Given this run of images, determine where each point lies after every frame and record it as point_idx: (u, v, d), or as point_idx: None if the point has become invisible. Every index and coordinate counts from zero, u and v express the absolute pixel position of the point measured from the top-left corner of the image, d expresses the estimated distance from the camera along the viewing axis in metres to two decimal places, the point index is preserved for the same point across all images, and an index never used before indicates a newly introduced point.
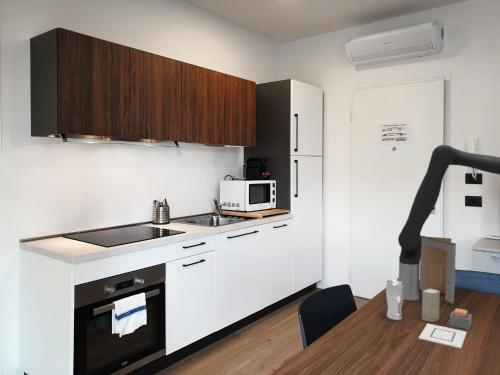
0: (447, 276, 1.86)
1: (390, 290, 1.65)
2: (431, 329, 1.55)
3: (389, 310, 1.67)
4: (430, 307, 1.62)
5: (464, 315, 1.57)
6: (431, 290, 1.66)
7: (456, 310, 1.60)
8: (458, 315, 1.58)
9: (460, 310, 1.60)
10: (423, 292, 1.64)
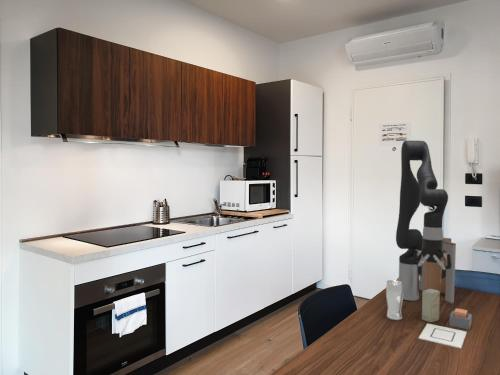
0: (447, 276, 1.86)
1: (390, 290, 1.65)
2: (431, 329, 1.55)
3: (389, 310, 1.67)
4: (430, 307, 1.62)
5: (464, 315, 1.57)
6: (431, 290, 1.66)
7: (456, 310, 1.60)
8: (458, 315, 1.58)
9: (460, 310, 1.60)
10: (423, 292, 1.64)
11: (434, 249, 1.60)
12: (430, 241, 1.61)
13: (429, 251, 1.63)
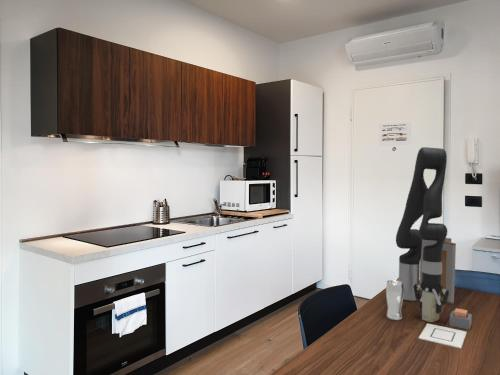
0: (447, 276, 1.86)
1: (390, 290, 1.65)
2: (431, 329, 1.55)
3: (389, 310, 1.67)
4: (430, 307, 1.62)
5: (464, 315, 1.57)
6: None
7: (456, 310, 1.60)
8: (458, 315, 1.58)
9: (460, 310, 1.60)
10: (423, 292, 1.64)
11: (433, 283, 1.61)
12: (429, 275, 1.61)
13: (428, 285, 1.64)
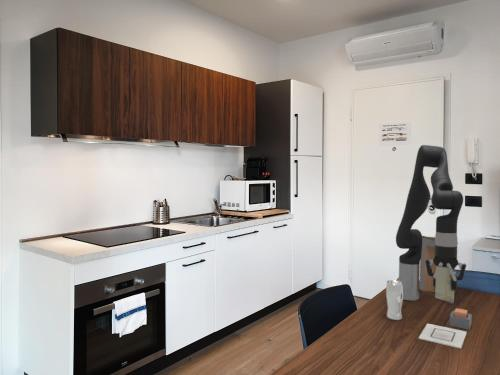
0: None
1: (390, 290, 1.65)
2: (431, 329, 1.55)
3: (389, 310, 1.67)
4: (445, 283, 1.46)
5: (464, 315, 1.57)
6: None
7: (456, 310, 1.60)
8: (458, 315, 1.58)
9: (460, 310, 1.60)
10: (437, 267, 1.48)
11: (448, 257, 1.45)
12: (443, 248, 1.45)
13: (442, 259, 1.48)
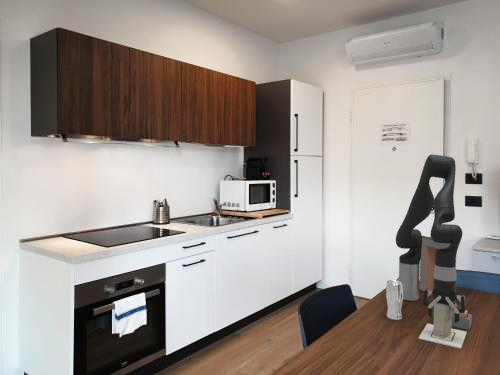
0: None
1: (390, 290, 1.65)
2: (431, 329, 1.55)
3: (389, 310, 1.67)
4: (443, 321, 1.47)
5: (464, 315, 1.57)
6: None
7: None
8: None
9: None
10: (435, 304, 1.49)
11: (447, 291, 1.45)
12: (442, 282, 1.46)
13: (441, 292, 1.49)
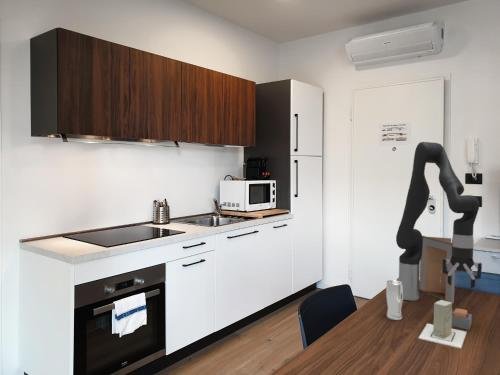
0: (447, 276, 1.86)
1: (390, 290, 1.65)
2: (431, 329, 1.55)
3: (389, 310, 1.67)
4: (443, 321, 1.47)
5: (464, 315, 1.57)
6: (443, 302, 1.50)
7: (456, 310, 1.60)
8: (458, 315, 1.58)
9: (460, 310, 1.60)
10: (435, 304, 1.49)
11: (464, 257, 1.55)
12: (460, 249, 1.55)
13: (459, 259, 1.58)
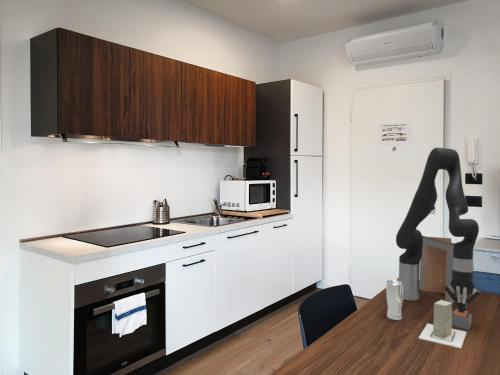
0: (447, 276, 1.86)
1: (390, 290, 1.65)
2: (431, 329, 1.55)
3: (389, 310, 1.67)
4: (443, 321, 1.47)
5: (464, 316, 1.57)
6: (443, 302, 1.50)
7: (456, 311, 1.60)
8: (458, 316, 1.58)
9: None
10: (435, 304, 1.49)
11: (465, 281, 1.55)
12: (460, 273, 1.56)
13: (459, 283, 1.59)
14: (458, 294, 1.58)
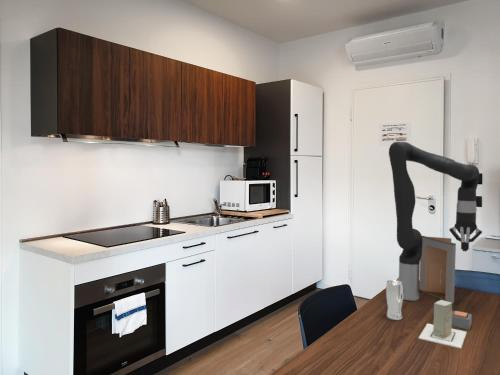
0: (447, 276, 1.86)
1: (390, 290, 1.65)
2: (431, 329, 1.55)
3: (389, 310, 1.67)
4: (443, 321, 1.47)
5: None
6: (443, 302, 1.50)
7: (456, 313, 1.60)
8: None
9: (460, 313, 1.60)
10: (435, 304, 1.49)
11: (468, 221, 1.68)
12: (464, 214, 1.68)
13: (463, 224, 1.71)
14: (462, 234, 1.71)
